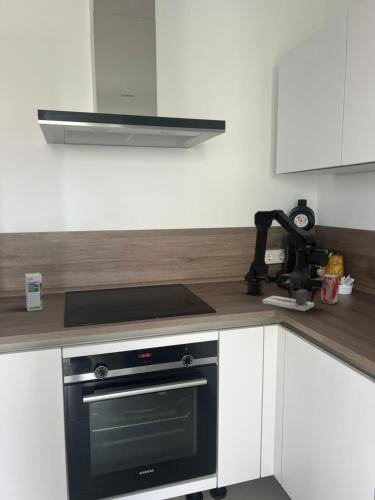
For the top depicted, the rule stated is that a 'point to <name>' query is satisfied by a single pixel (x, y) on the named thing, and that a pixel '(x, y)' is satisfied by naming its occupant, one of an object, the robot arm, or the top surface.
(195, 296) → the top surface
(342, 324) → the top surface
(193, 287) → the top surface
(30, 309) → the syrup box
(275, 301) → the fader panel
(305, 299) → the fader knob
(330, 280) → the soda can
